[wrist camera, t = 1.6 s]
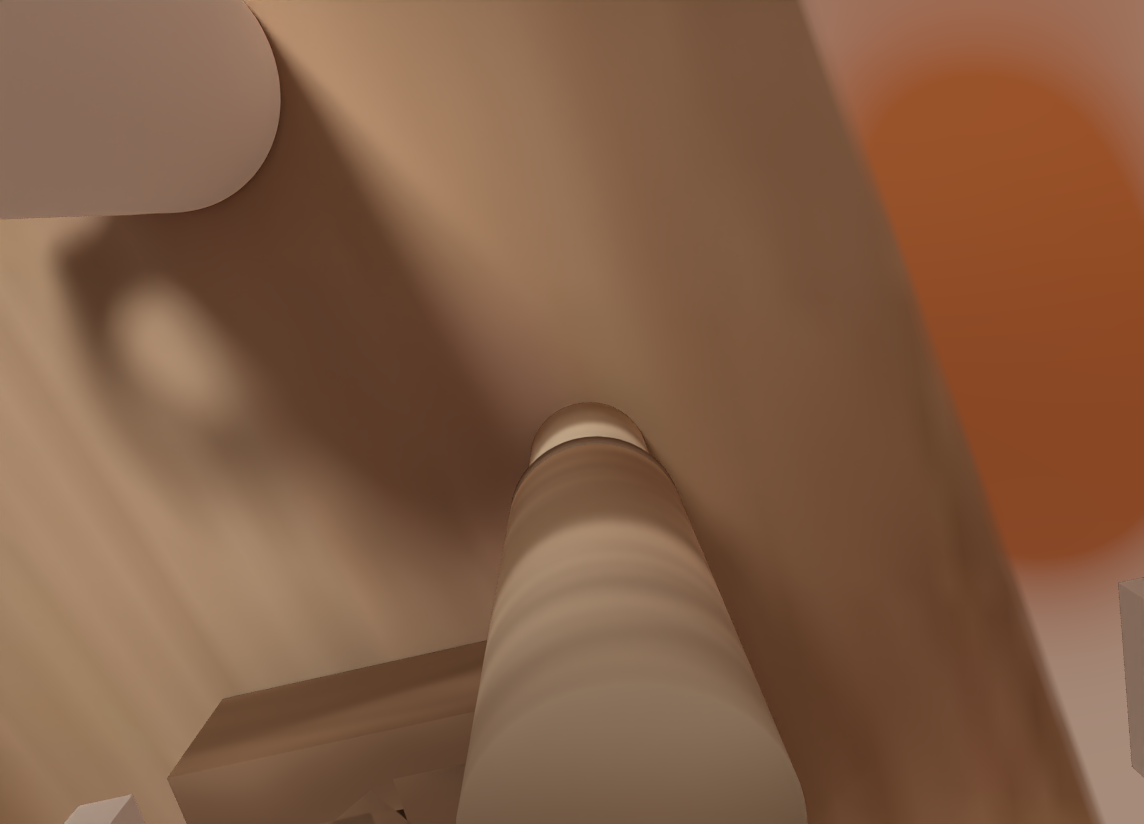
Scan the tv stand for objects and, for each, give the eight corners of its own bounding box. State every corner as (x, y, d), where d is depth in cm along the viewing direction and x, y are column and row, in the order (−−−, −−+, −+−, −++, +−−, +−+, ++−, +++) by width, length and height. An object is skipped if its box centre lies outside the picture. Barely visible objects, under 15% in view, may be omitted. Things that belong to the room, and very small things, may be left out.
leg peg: (504, 410, 22) (412, 727, 8) (641, 377, 22) (776, 647, 8) (538, 536, 23) (505, 1005, 9) (669, 506, 23) (832, 939, 9)
